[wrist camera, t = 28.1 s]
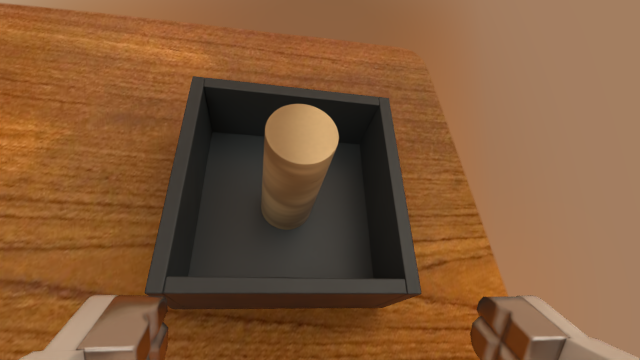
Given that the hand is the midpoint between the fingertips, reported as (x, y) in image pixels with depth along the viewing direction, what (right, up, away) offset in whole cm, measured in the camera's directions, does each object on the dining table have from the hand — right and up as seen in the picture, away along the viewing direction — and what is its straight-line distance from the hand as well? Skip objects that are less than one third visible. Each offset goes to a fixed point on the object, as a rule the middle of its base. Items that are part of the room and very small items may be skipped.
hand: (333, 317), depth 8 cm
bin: (-3, +1, +16) cm, 16 cm away
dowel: (-3, +2, +15) cm, 15 cm away
